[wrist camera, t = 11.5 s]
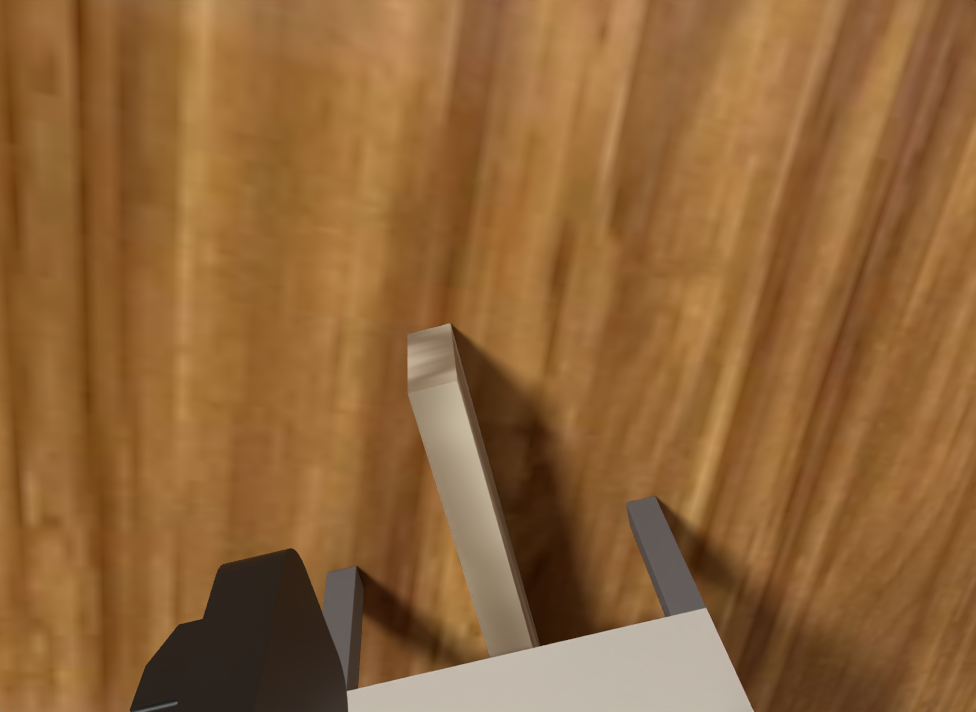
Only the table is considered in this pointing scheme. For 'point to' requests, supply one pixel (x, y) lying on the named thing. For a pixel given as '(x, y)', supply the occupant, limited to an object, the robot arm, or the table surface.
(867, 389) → the table surface
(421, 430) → the pale wooden bar
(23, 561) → the table surface
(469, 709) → the low cabinet
